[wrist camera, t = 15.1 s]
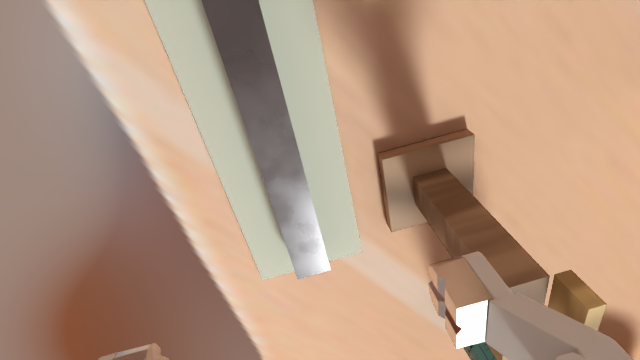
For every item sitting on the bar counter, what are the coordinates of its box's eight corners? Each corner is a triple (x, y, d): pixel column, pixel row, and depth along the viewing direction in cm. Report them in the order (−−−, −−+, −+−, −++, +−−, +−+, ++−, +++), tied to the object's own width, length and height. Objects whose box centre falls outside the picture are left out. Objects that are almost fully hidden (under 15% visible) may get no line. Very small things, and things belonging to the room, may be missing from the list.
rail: (151, -165, 19) (138, -183, 16) (209, -179, 19) (205, -199, 16) (293, 255, 35) (297, 279, 32) (324, 247, 35) (330, 269, 33)
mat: (62, -201, 18) (57, -205, 18) (262, -246, 18) (263, -251, 18) (262, 275, 36) (262, 280, 36) (360, 247, 37) (362, 252, 36)
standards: (328, -204, 20) (537, -579, 6) (472, -237, 20) (995, -667, 6) (387, 224, 36) (479, 395, 22) (466, 202, 36) (605, 357, 22)
